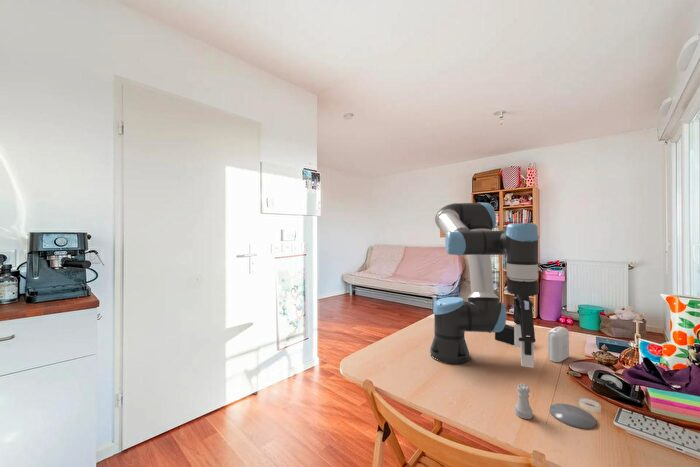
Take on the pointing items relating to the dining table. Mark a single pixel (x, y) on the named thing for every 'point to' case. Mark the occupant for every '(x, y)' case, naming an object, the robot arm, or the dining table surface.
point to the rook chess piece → (523, 403)
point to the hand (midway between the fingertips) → (523, 355)
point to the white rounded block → (558, 344)
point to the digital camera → (506, 335)
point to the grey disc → (572, 416)
